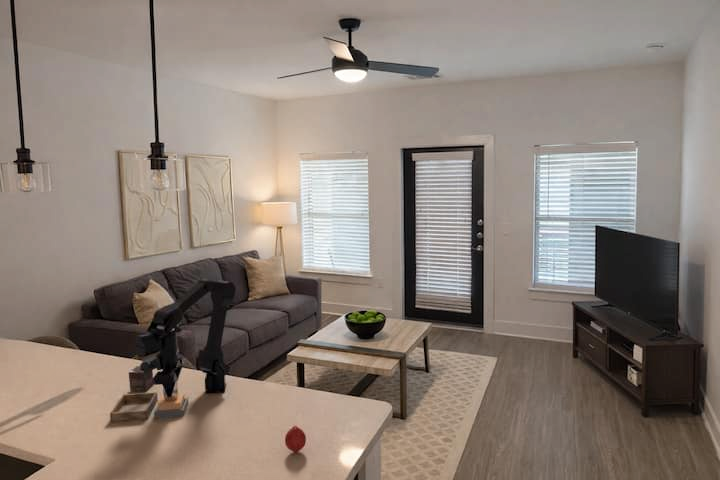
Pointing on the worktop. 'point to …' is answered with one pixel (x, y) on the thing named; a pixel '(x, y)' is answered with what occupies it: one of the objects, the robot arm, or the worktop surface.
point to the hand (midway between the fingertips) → (171, 393)
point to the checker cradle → (172, 411)
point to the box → (140, 380)
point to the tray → (134, 407)
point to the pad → (171, 403)
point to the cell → (174, 394)
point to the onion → (295, 439)
